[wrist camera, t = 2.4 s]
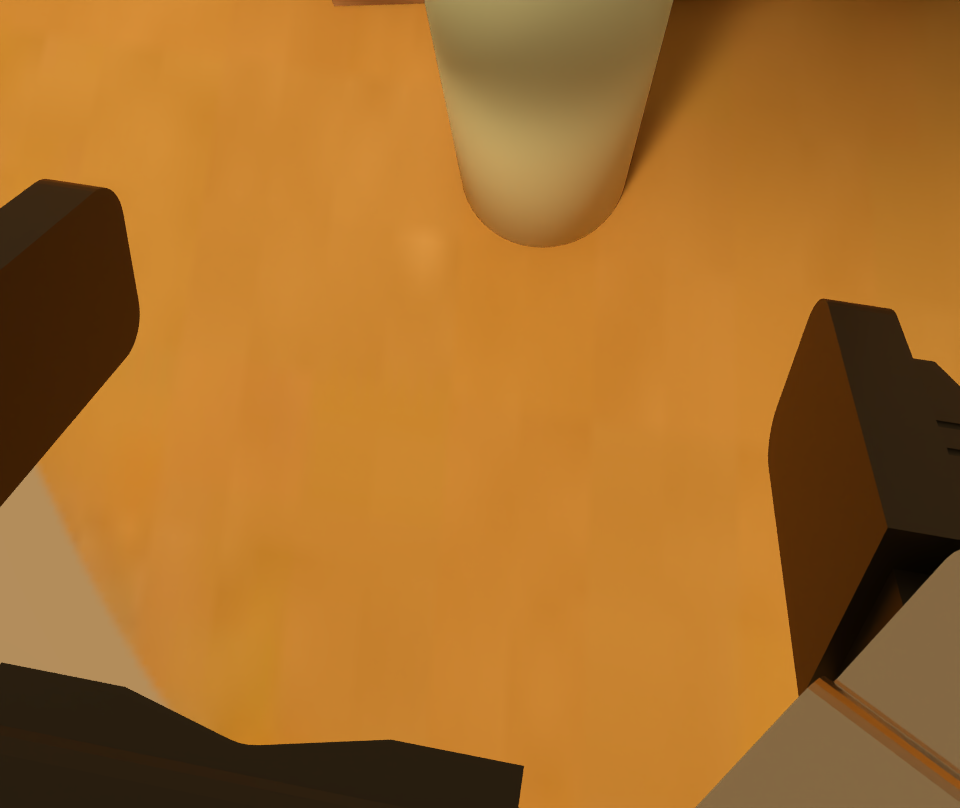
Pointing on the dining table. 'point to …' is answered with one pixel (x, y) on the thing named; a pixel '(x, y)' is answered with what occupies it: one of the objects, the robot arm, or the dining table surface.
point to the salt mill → (545, 106)
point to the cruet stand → (373, 2)
